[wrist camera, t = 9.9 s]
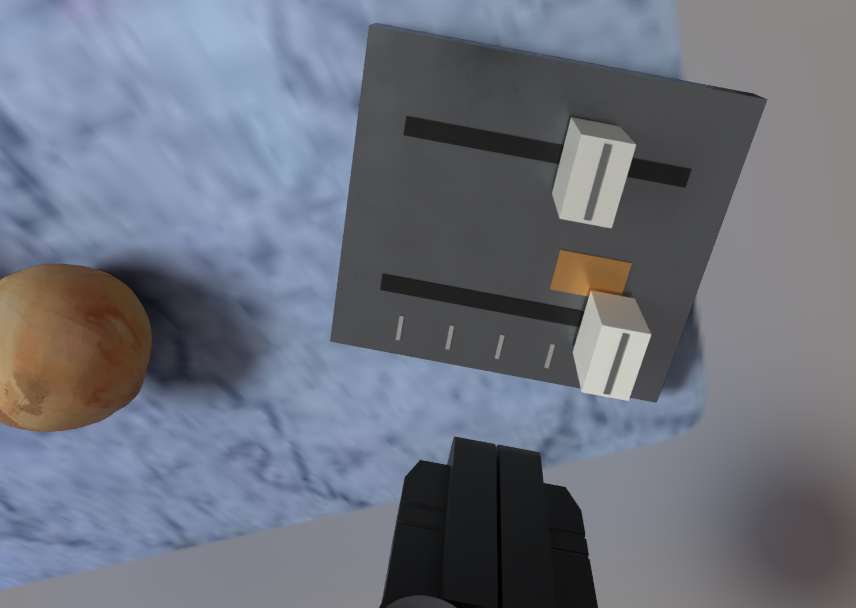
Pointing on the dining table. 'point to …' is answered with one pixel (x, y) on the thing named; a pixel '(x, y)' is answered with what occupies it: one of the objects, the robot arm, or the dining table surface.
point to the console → (524, 205)
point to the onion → (69, 347)
